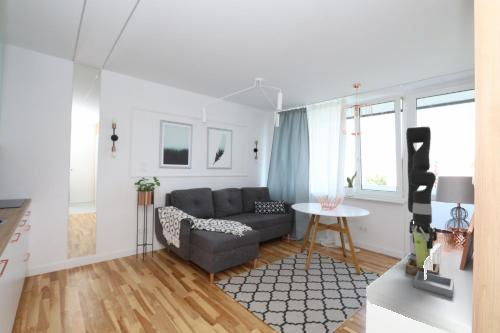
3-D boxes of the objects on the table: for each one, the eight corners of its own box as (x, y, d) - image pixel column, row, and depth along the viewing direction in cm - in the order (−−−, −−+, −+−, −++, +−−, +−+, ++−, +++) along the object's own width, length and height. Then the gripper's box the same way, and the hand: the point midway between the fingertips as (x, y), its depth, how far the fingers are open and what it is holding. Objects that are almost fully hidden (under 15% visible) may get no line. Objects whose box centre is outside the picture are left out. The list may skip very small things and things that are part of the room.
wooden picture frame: (405, 273, 114) (405, 265, 114) (409, 265, 123) (409, 258, 123) (437, 281, 106) (437, 272, 106) (439, 272, 115) (439, 264, 115)
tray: (413, 287, 101) (413, 280, 101) (418, 277, 110) (417, 270, 110) (452, 298, 93) (452, 290, 93) (453, 286, 102) (453, 279, 102)
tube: (423, 276, 111) (423, 234, 112) (413, 271, 116) (412, 231, 116) (432, 274, 113) (431, 233, 113) (421, 270, 118) (421, 231, 118)
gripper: (442, 215, 108) (442, 250, 108) (418, 210, 122) (418, 241, 122) (426, 215, 108) (426, 251, 107) (404, 210, 122) (404, 241, 122)
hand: (422, 245), depth 115 cm, fingers open, 8 cm apart
